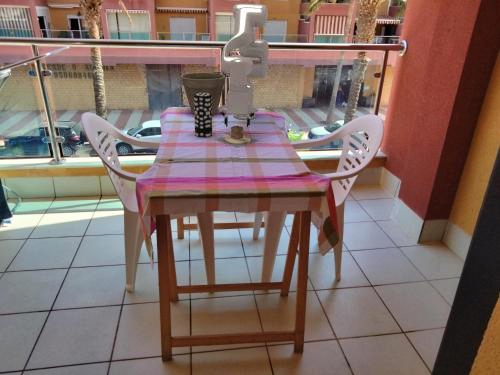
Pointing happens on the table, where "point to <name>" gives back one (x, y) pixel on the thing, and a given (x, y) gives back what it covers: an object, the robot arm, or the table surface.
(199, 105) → the polka dot cylinder
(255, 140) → the mat
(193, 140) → the table surface
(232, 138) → the lid
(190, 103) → the plant pot
